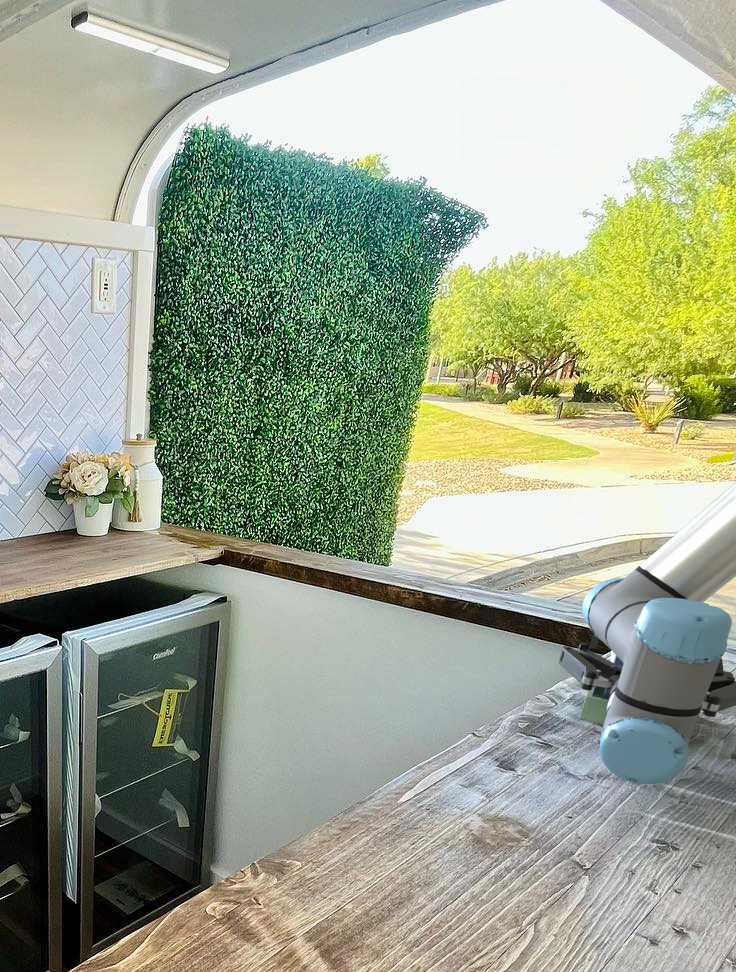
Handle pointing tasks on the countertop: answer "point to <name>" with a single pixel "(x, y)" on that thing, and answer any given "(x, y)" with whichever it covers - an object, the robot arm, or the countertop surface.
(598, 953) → the countertop surface
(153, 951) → the countertop surface
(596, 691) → the lower bin
